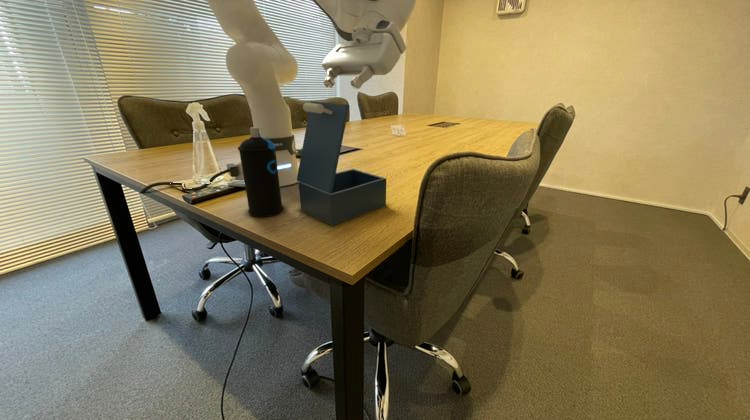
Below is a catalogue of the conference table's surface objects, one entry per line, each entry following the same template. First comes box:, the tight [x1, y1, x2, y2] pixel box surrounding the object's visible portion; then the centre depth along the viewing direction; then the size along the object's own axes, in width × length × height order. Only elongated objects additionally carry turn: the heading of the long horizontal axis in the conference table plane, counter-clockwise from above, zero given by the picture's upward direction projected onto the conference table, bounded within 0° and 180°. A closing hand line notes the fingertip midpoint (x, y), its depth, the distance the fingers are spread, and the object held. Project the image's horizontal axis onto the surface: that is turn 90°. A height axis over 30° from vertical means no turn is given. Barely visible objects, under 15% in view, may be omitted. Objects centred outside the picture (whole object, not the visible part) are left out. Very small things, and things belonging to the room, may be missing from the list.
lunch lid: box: [297, 101, 350, 193], centre depth 65 cm, size 18×13×5 cm
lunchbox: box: [297, 168, 387, 227], centre depth 76 cm, size 18×13×7 cm
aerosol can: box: [237, 126, 284, 218], centre depth 71 cm, size 8×8×20 cm
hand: (339, 86), depth 66 cm, fingers open, 8 cm apart
